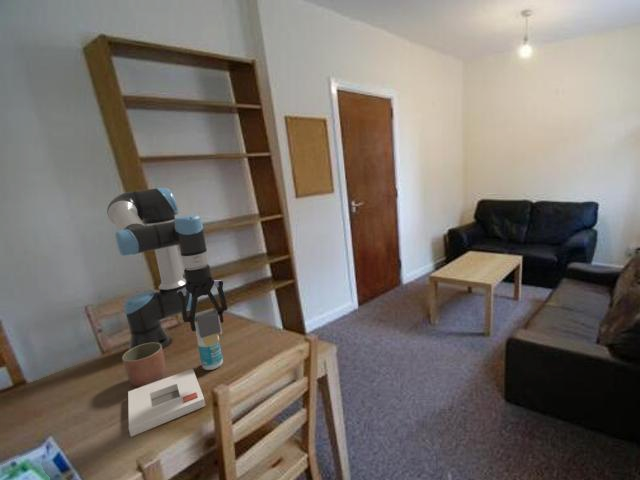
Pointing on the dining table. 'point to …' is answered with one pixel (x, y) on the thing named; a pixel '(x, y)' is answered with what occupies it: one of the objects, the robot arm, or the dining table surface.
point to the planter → (144, 364)
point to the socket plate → (163, 401)
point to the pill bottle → (210, 355)
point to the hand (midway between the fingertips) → (209, 335)
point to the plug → (208, 326)
